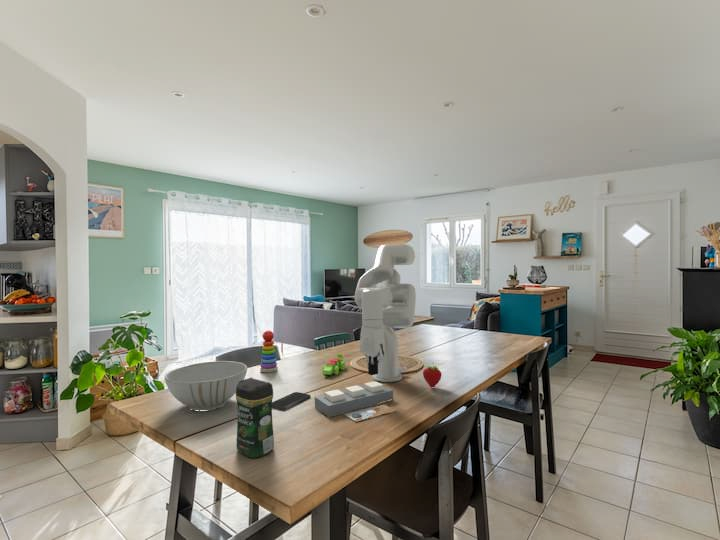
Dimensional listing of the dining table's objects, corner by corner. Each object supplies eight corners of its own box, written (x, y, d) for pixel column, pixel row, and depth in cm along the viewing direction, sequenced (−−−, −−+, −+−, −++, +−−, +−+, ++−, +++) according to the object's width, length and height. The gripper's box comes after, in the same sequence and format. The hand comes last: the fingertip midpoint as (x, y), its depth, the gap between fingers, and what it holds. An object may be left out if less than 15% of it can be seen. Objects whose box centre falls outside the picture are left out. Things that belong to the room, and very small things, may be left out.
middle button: (357, 394, 132) (356, 385, 132) (364, 398, 128) (364, 388, 128) (345, 397, 130) (344, 387, 130) (352, 402, 125) (352, 391, 125)
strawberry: (426, 383, 149) (426, 359, 149) (444, 387, 145) (444, 362, 145) (420, 387, 145) (419, 362, 144) (438, 391, 140) (437, 365, 140)
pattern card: (384, 404, 128) (384, 403, 128) (397, 411, 122) (397, 409, 122) (344, 415, 119) (344, 413, 119) (356, 422, 113) (356, 421, 113)
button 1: (337, 399, 128) (337, 389, 128) (344, 403, 124) (344, 393, 124) (324, 402, 125) (324, 392, 125) (331, 407, 121) (331, 396, 121)
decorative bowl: (210, 425, 113) (210, 386, 113) (146, 414, 122) (145, 378, 122) (262, 396, 138) (262, 363, 138) (206, 388, 147) (205, 358, 147)
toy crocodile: (332, 378, 159) (331, 364, 159) (318, 377, 161) (317, 363, 161) (348, 366, 177) (348, 354, 177) (336, 365, 179) (335, 353, 179)
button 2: (375, 390, 137) (375, 381, 137) (383, 394, 132) (383, 384, 132) (364, 393, 134) (363, 383, 134) (371, 397, 130) (371, 387, 130)
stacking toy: (281, 369, 173) (280, 330, 173) (268, 374, 166) (268, 332, 166) (269, 367, 177) (268, 328, 177) (256, 371, 170) (255, 331, 170)
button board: (376, 392, 140) (376, 383, 140) (393, 400, 132) (393, 390, 132) (314, 407, 126) (314, 396, 126) (328, 417, 118) (328, 405, 118)
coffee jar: (231, 451, 97) (230, 380, 96) (256, 439, 103) (255, 373, 103) (254, 462, 91) (253, 387, 91) (279, 449, 97) (278, 379, 97)
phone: (311, 395, 136) (283, 408, 123) (311, 398, 136) (284, 412, 123) (295, 391, 140) (266, 404, 127) (295, 394, 140) (266, 407, 127)
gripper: (352, 321, 137) (353, 371, 137) (376, 327, 125) (376, 381, 125) (369, 320, 141) (370, 368, 141) (393, 324, 129) (394, 377, 129)
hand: (373, 374), depth 133 cm, fingers closed
